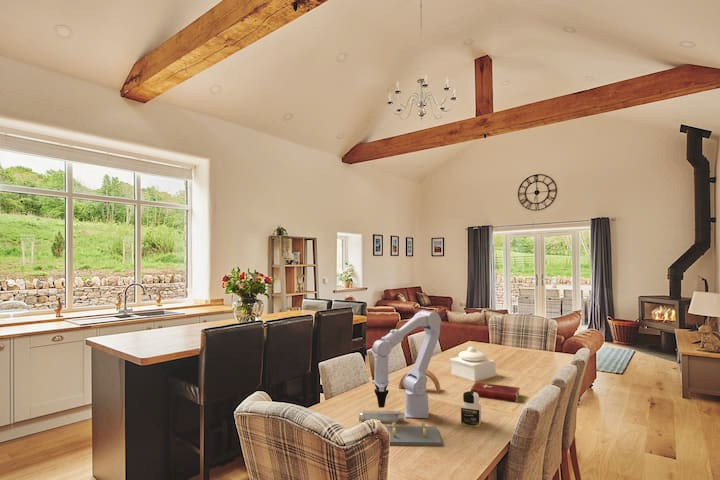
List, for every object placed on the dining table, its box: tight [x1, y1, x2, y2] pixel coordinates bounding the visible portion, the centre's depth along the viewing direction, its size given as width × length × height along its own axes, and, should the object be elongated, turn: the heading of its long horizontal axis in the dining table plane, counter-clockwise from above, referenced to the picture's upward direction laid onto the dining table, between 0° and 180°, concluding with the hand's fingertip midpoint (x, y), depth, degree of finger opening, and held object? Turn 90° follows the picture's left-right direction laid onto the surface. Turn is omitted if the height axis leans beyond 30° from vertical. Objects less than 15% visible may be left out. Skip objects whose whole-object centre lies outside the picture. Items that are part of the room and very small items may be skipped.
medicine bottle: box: [460, 390, 482, 428], centre depth 170 cm, size 7×7×12 cm
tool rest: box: [384, 422, 443, 447], centre depth 156 cm, size 22×14×4 cm, turn 88°
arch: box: [398, 369, 441, 394], centre depth 212 cm, size 6×20×10 cm, turn 70°
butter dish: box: [449, 346, 497, 383], centre depth 237 cm, size 18×18×16 cm
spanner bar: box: [358, 410, 405, 424], centre depth 172 cm, size 18×3×4 cm, turn 88°
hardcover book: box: [470, 381, 521, 404], centre depth 203 cm, size 12×21×4 cm, turn 63°
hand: (381, 403), depth 172 cm, fingers open, 7 cm apart
